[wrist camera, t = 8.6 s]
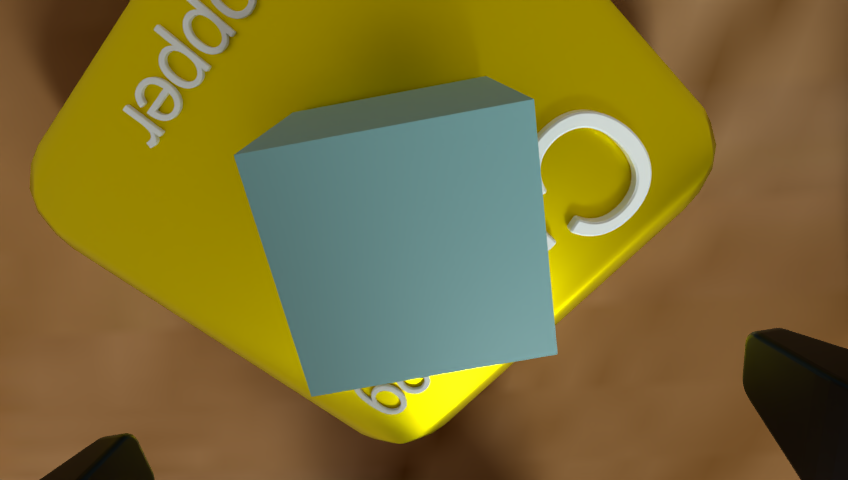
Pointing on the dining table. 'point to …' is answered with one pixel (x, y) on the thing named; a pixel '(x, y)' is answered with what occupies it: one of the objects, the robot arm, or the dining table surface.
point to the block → (406, 233)
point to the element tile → (339, 83)
